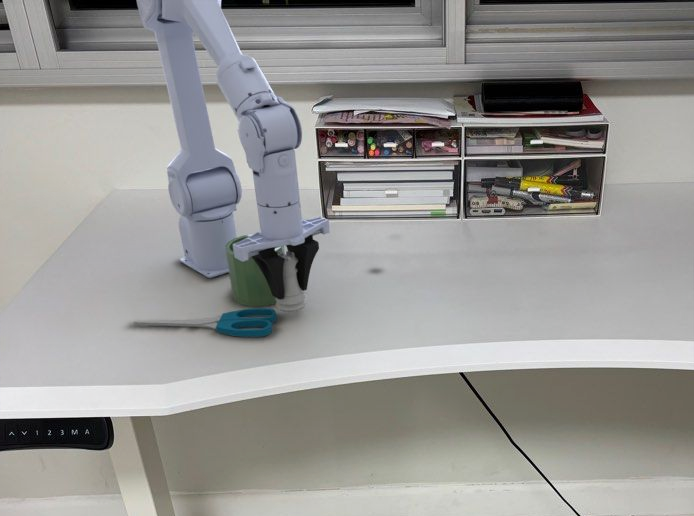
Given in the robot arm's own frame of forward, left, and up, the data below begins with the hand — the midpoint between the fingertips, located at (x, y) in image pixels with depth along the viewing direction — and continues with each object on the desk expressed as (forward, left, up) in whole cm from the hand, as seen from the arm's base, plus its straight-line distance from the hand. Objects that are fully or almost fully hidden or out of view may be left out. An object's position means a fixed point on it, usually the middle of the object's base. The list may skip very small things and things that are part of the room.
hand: (289, 292), depth 114 cm
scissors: (-6, -11, -4) cm, 13 cm away
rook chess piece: (0, 0, -2) cm, 2 cm away
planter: (-9, +1, -3) cm, 10 cm away
